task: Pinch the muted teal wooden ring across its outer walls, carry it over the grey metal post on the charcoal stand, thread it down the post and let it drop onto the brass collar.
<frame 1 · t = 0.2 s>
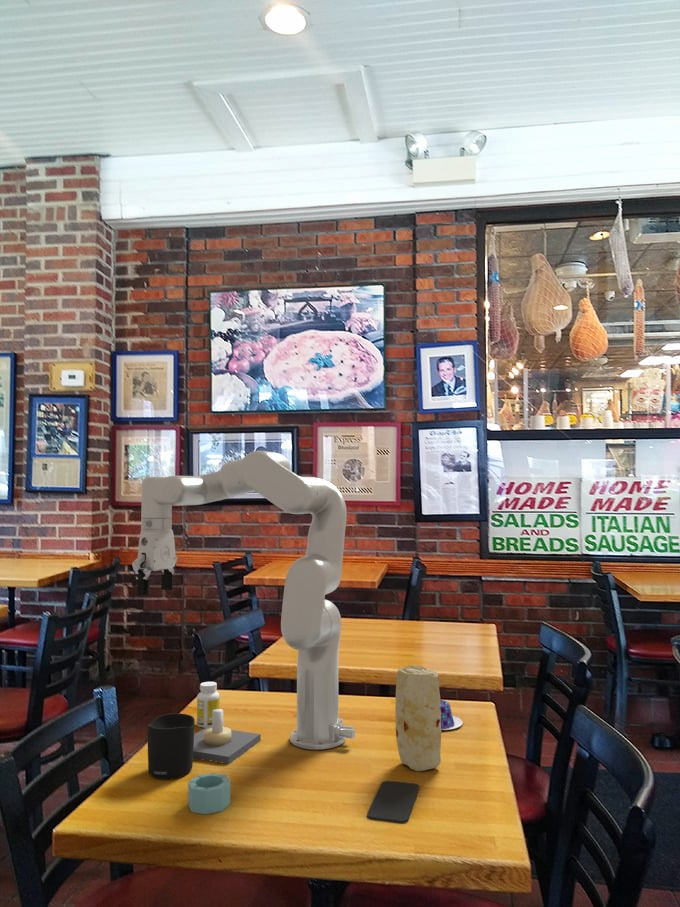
hand: (155, 592, 170), 31 cm above the table, tool pointing down, fingers open, 9 cm apart
food model: (417, 767, 138), on the table
ring: (209, 804, 121), on the table
supplement bottle: (208, 725, 163), on the table
phone: (394, 804, 122), on the table
pen holder: (170, 772, 136), on the table
post stand: (217, 747, 148), on the table
pudding: (437, 725, 164), on the table
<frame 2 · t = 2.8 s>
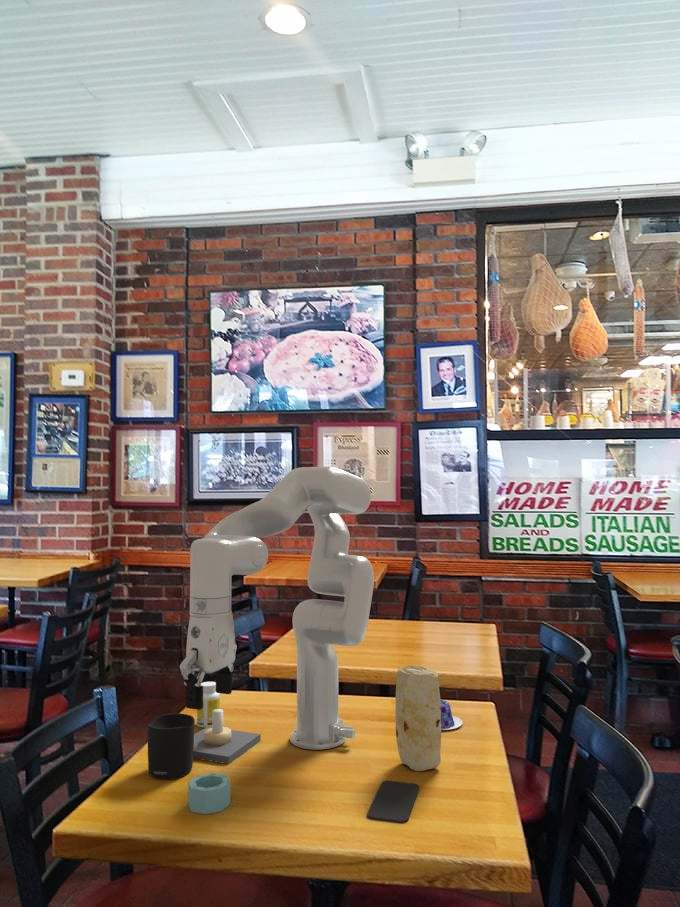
hand: (209, 700, 122), 18 cm above the table, tool pointing down, fingers open, 9 cm apart
nothing on the table moved.
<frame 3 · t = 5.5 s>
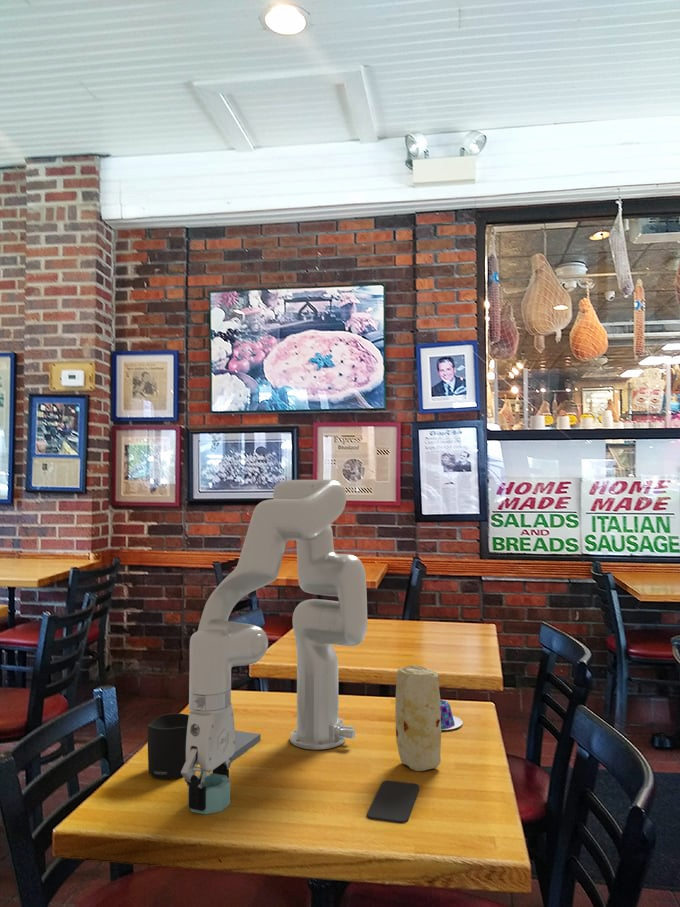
hand: (209, 798, 121), 1 cm above the table, tool pointing down, fingers closed on ring, 7 cm apart
ring: (209, 804, 121), on the table, touching gripper
everything else where it was.
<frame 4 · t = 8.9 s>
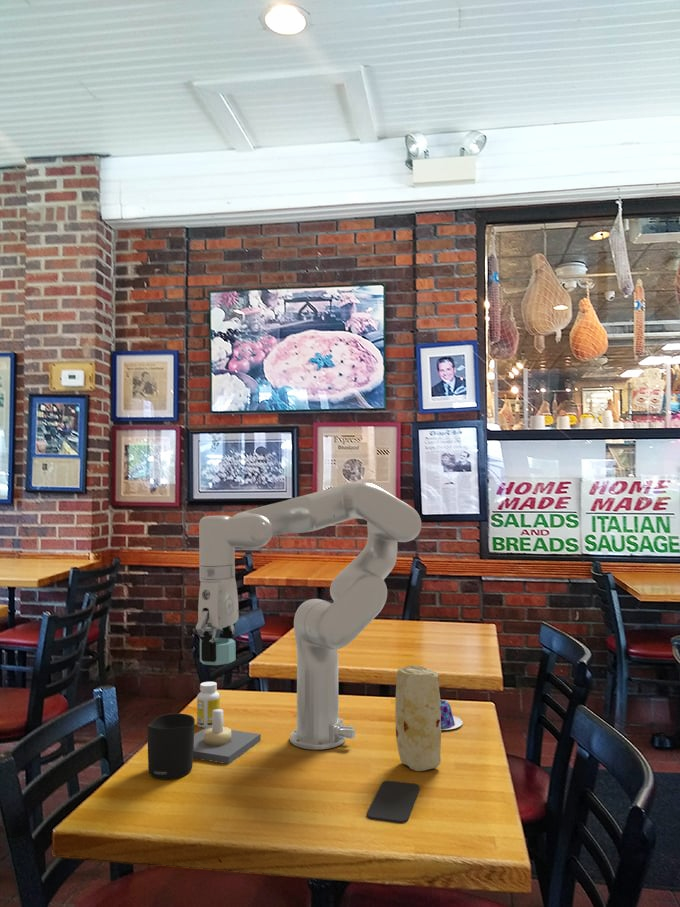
hand: (218, 656, 143), 21 cm above the table, tool pointing down, fingers closed on ring, 7 cm apart
ring: (217, 660, 143), point 20 cm above the table, touching gripper
everything else where it was.
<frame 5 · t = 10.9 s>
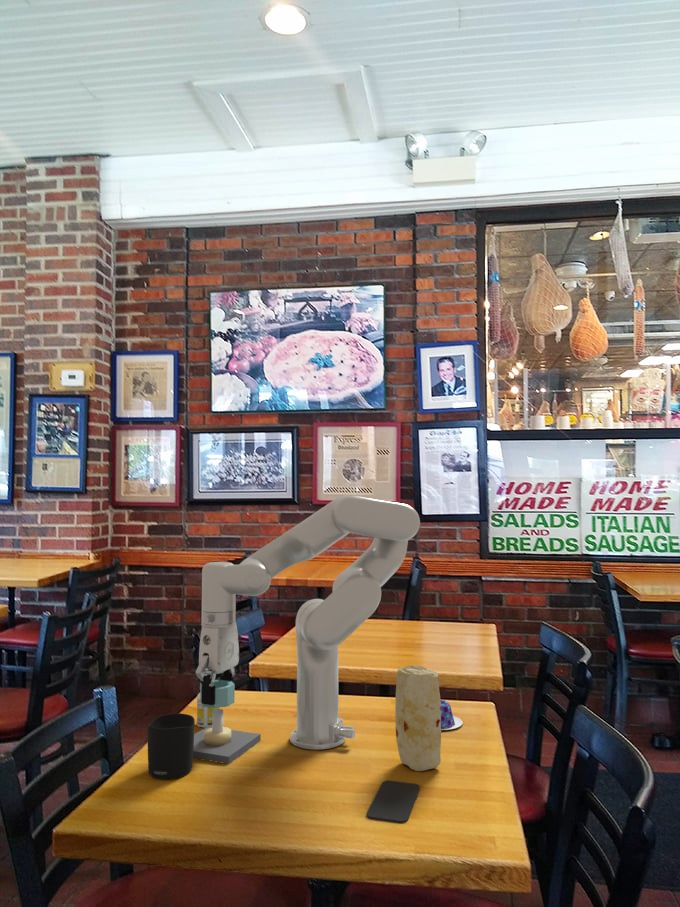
hand: (217, 698, 149), 11 cm above the table, tool pointing down, fingers closed on ring, 7 cm apart
ring: (217, 702, 149), point 10 cm above the table, touching gripper
when the fingers open (6 cm above the table, at t = 12.5 s): ring drops 1 cm, resting on post stand.
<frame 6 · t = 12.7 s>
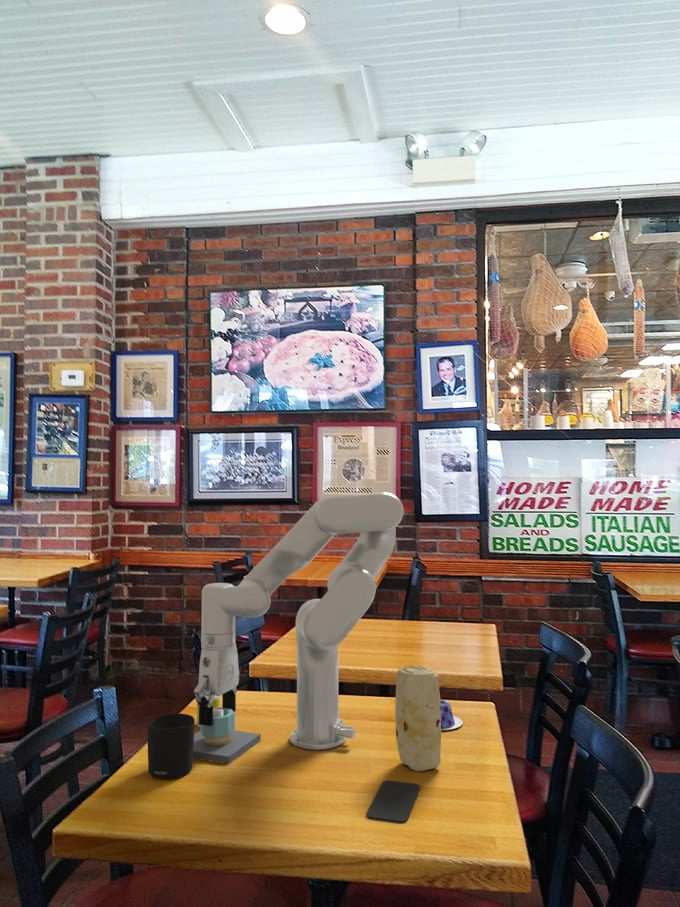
hand: (217, 717, 149), 6 cm above the table, tool pointing down, fingers open, 9 cm apart
ring: (217, 731, 148), point 3 cm above the table, touching post stand
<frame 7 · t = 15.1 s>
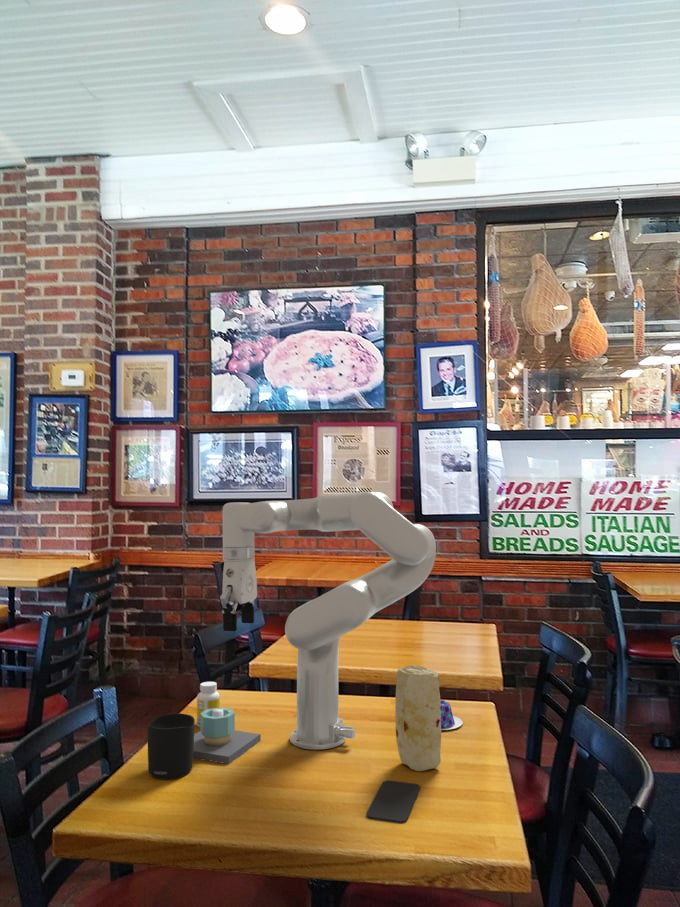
hand: (239, 626, 159), 25 cm above the table, tool pointing down, fingers open, 9 cm apart
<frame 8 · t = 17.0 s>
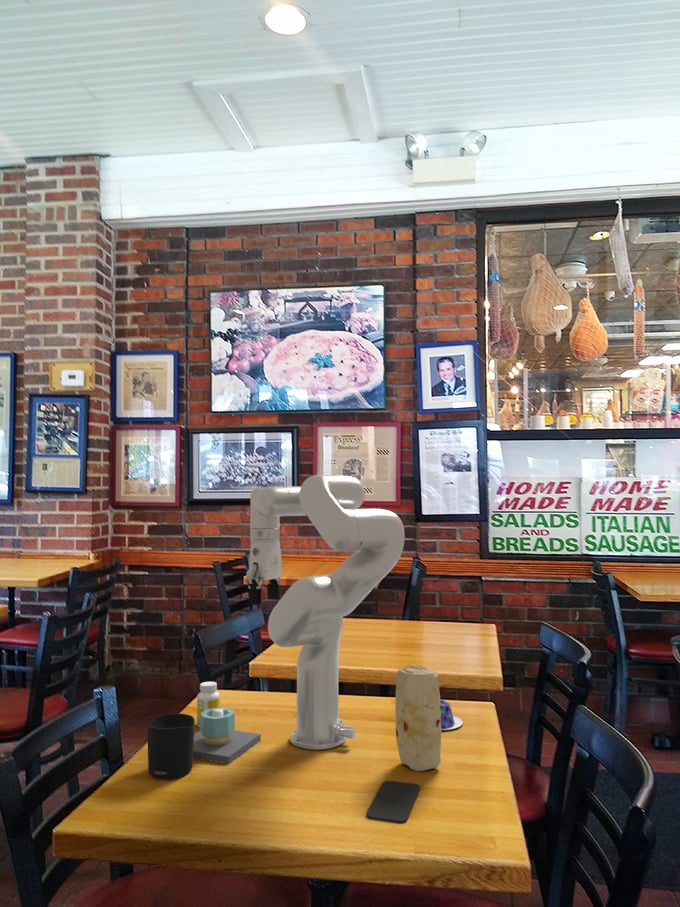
hand: (264, 601, 173), 28 cm above the table, tool pointing down, fingers open, 9 cm apart
at the end: ring 0.0 cm off-centre on the post stand, point 3.5 cm above the post stand's base; the gripper is holding nothing; ring tilted 0° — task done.
